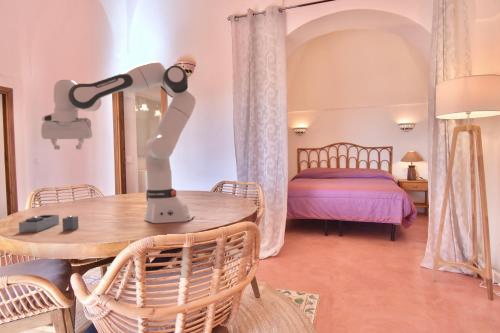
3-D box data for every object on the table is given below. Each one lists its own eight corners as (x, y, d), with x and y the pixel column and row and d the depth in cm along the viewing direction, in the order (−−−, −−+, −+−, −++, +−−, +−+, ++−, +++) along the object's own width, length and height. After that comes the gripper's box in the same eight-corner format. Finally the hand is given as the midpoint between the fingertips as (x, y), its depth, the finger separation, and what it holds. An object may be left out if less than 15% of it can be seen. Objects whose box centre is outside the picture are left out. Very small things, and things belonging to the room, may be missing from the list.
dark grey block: (78, 228, 122) (77, 214, 121) (73, 230, 118) (72, 217, 117) (68, 228, 121) (68, 215, 121) (62, 230, 117) (62, 217, 117)
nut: (43, 228, 121) (42, 215, 121) (36, 231, 117) (36, 217, 117) (33, 228, 121) (33, 215, 121) (26, 231, 117) (26, 217, 117)
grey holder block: (42, 223, 129) (42, 214, 129) (59, 223, 130) (58, 214, 129) (19, 232, 115) (18, 222, 115) (37, 232, 116) (37, 222, 115)
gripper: (94, 118, 131) (95, 149, 132) (47, 118, 131) (49, 149, 131) (87, 116, 125) (88, 149, 126) (38, 117, 124) (39, 149, 125)
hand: (67, 149), depth 128 cm, fingers open, 8 cm apart
